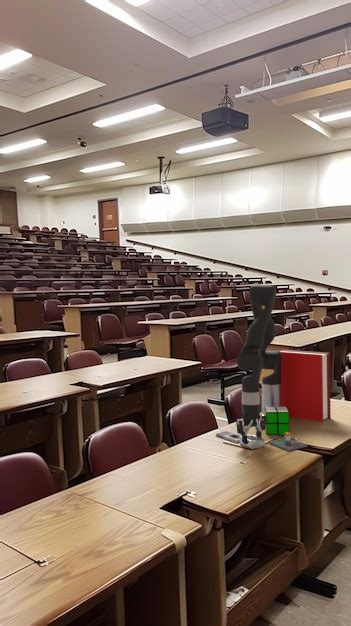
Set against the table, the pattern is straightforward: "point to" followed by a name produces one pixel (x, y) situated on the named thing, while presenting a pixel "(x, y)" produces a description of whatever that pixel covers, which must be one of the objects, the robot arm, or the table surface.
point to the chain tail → (229, 436)
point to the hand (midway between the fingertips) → (251, 442)
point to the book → (306, 384)
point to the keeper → (287, 443)
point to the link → (253, 441)
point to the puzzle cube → (276, 420)
